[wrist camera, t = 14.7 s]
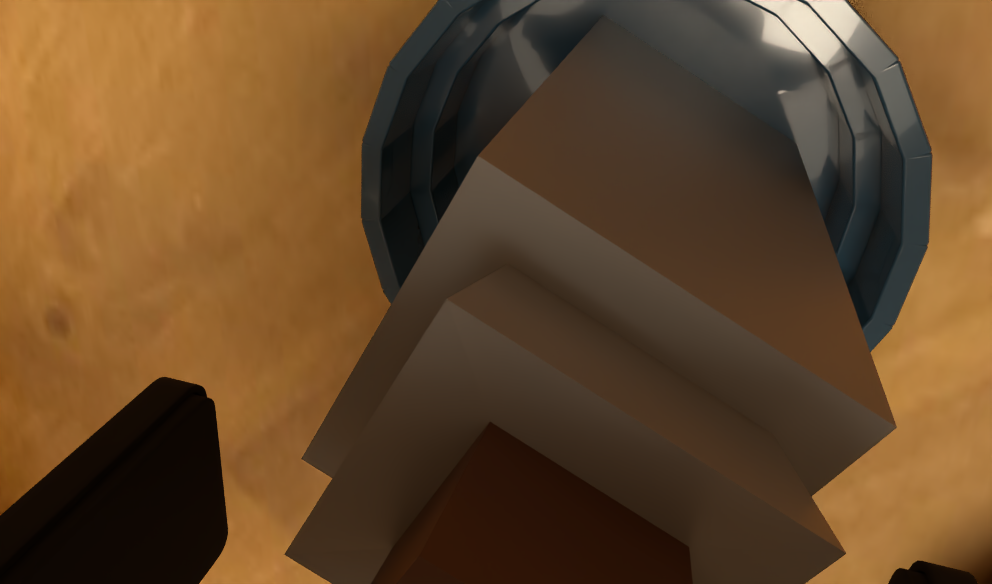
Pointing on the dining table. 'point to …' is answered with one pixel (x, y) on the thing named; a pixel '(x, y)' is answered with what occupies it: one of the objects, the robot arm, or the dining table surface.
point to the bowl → (705, 54)
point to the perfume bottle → (606, 356)
